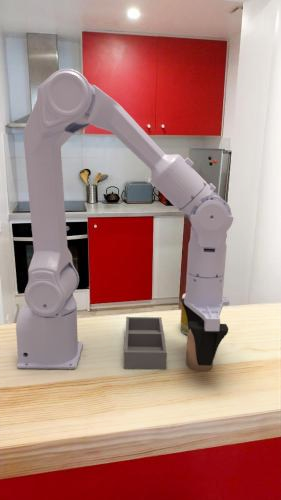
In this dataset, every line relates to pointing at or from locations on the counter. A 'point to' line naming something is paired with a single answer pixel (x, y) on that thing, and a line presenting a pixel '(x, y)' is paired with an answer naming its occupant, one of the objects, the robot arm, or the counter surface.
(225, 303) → the robot arm
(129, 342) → the carrier
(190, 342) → the tan capsule
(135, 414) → the counter surface
